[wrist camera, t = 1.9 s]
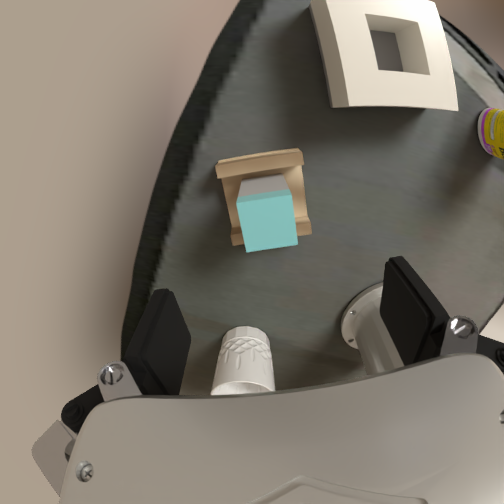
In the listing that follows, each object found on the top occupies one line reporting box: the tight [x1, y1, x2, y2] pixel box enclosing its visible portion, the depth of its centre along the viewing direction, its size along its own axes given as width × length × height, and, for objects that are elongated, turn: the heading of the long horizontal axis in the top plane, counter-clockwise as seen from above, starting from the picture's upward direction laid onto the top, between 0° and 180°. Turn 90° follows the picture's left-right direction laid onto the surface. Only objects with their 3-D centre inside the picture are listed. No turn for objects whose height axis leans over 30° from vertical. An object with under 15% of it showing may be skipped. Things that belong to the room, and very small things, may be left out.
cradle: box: [215, 148, 312, 246], centre depth 27 cm, size 8×8×3 cm
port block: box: [309, 0, 458, 111], centre depth 18 cm, size 12×12×6 cm
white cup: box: [211, 326, 275, 395], centre depth 34 cm, size 8×8×10 cm
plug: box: [236, 173, 298, 252], centre depth 24 cm, size 4×4×8 cm
